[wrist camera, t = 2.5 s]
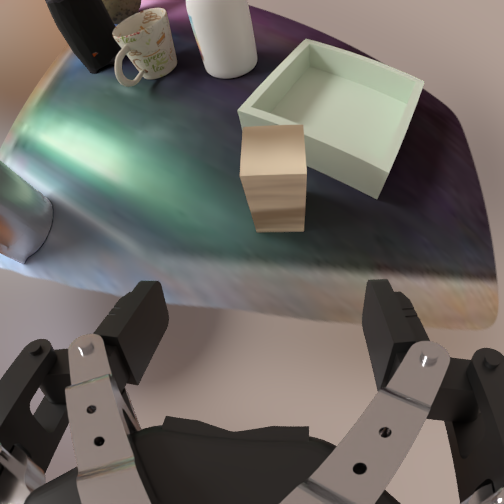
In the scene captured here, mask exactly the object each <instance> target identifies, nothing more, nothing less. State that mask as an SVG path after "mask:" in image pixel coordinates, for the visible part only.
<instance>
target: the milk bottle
mask: <svg viewBox="0 0 504 504" xmlns="http://www.w3.org/2000/svg"><path fill="white" fill-rule="evenodd" d="M186 7H187V12H188V16H189V19H190V23H191V26H192V29H193V32H194V35H195V38H196V42H197V45H198V48H199V51H200V54H201V57H202V60H203V63H204V66H205V69H206V71H207V72H208V73H209V74H210V75H211V76H213V77H216V78H222V79H229V78H235V77H239V76H242V75H244V74H246V73H248V72H250V71H251V70H252V69H253V68H254V67H255V65H256V63H257V51H256V45H255V39H254V33H253V28H252V22H251V17H250V11H249V6H248V2H247V0H186Z"/></svg>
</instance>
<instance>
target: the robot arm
mask: <svg viewBox="0 0 504 504" xmlns="http://www.w3.org/2000/svg"><path fill="white" fill-rule="evenodd" d="M52 219H53V208H52V204H51V202H50V201H49V199H48V198H46V197H45V196H44V195H43V194H42V193H40V192H39V191H38V190H36V189H35V188H33V187H32V186H31V185H30V184H28V183H27V182H26V181H25V180H23V179H22V178H21V177H20V176H18V175H17V174H16V173H15V172H13V171H12V170H11V169H10V168H9V167H7V166H6V165H5V164H4V163H2V162H1V161H0V253H1V254H3V255H5V256H7V257H9V258H11V259H14V260H16V261H18V262H20V263H22V264H24V263H25V261H26V259H27V258H28V257H29V256H31V255H32V254H34V253H35V252H36V251H37V250H38V249H39V248H40V247H41V245H42V244H43V242H44V241H45V239H46V237H47V235H48V233H49V230H50V227H51V224H52ZM168 321H169V315H168V310H167V306H166V302H165V298H164V294H163V290H162V286H161V284H160V282H159V281H140V282H139V283H138V284H137V286H136V287H135V288H134V290H133V291H132V292H129V293H128V294H126V295H125V296H123V297H122V298H121V299H119V301H118V302H117V303H116V305H115V306H114V308H113V309H112V310H111V311H110V312H109V315H107V316H106V317H105V319H104V320H103V321H102V323H101V324H100V326H99V327H98V328H97V329H96V331H95V332H94V333H93V334H86V335H83V336H81V337H78V338H77V339H75V340H74V341H73V342H72V343H71V345H70V346H69V349H59V350H54V349H53V347H52V345H51V343H50V342H49V341H48V340H46V339H38V340H35V341H33V342H31V343H29V344H28V345H27V346H26V347H25V348H24V349H23V350H22V352H21V353H20V354H19V356H18V357H17V358H16V359H15V361H14V362H13V363H12V365H11V366H10V367H9V369H8V370H7V371H6V373H5V374H4V375H3V377H2V378H1V380H0V504H400V503H399V502H398V501H397V500H396V499H395V498H394V497H393V496H391V495H390V494H389V493H388V492H387V491H386V490H385V488H386V486H387V485H388V484H389V482H390V480H391V479H392V478H393V476H394V475H395V473H396V471H397V470H398V468H399V467H400V465H401V463H402V462H403V460H404V458H405V457H406V455H407V453H408V451H409V449H410V448H411V446H412V444H413V443H414V441H415V439H416V437H417V435H418V433H419V431H420V429H421V427H422V426H423V424H424V422H425V420H426V419H433V420H442V421H444V422H445V426H446V430H447V434H448V439H449V443H450V448H451V453H452V458H453V463H454V468H455V473H456V479H457V485H458V492H459V498H460V504H504V356H503V355H502V354H501V353H500V352H498V351H496V350H494V349H490V348H482V349H479V350H477V351H476V352H475V353H474V355H473V357H472V359H471V360H466V359H457V358H451V357H450V356H449V353H448V352H447V350H446V349H445V348H444V347H443V346H441V345H439V344H438V343H435V342H431V341H430V340H429V338H428V336H427V334H426V332H425V330H424V327H423V325H422V323H421V321H420V319H419V317H417V313H416V311H415V310H414V307H413V305H412V303H411V301H410V299H408V298H407V297H406V296H405V295H404V294H402V293H401V292H394V291H393V289H392V287H391V285H390V283H389V281H388V280H387V279H380V280H368V282H367V286H366V293H365V300H364V307H363V314H362V326H363V332H364V336H365V339H366V343H367V347H368V351H369V355H370V360H371V363H372V368H373V372H374V377H375V381H376V385H377V390H378V393H377V395H376V396H375V397H374V399H373V400H372V401H371V403H370V404H369V406H368V407H367V408H366V410H365V411H364V412H363V414H362V415H361V417H360V418H359V419H358V421H357V422H356V423H355V424H354V426H353V427H352V428H351V430H350V431H349V432H348V434H347V435H346V436H345V437H344V438H343V440H342V441H341V442H340V443H339V445H338V446H335V445H333V444H331V443H329V442H326V441H324V440H321V439H318V438H315V437H309V427H308V426H307V427H306V426H305V427H286V426H285V427H284V426H283V427H282V426H281V427H280V426H270V427H265V428H259V429H252V430H246V431H238V432H232V431H228V430H225V429H222V428H218V427H215V426H212V425H209V424H207V423H204V422H201V421H197V420H189V419H183V418H176V417H169V416H166V418H165V420H164V423H163V425H160V426H153V427H149V428H145V429H141V427H140V424H139V422H138V420H137V417H136V414H135V411H134V408H133V406H132V403H131V400H130V397H129V394H128V392H127V390H126V388H125V385H126V383H128V384H133V385H139V383H140V381H141V378H142V376H143V374H144V372H145V370H146V368H147V366H148V364H149V362H150V360H151V358H152V356H153V354H154V352H155V350H156V348H157V347H158V345H159V342H160V341H161V339H162V337H163V335H164V333H165V331H166V329H167V326H168ZM38 388H40V389H41V391H42V392H43V393H44V395H45V396H44V398H43V400H42V401H41V403H40V405H39V407H38V408H37V410H36V412H35V413H34V415H32V413H31V411H30V401H31V399H32V398H33V396H34V394H35V393H36V391H37V389H38ZM68 424H69V425H70V431H71V437H72V442H73V448H74V453H75V457H76V462H77V467H75V468H74V469H72V470H70V471H68V472H66V473H65V474H63V475H61V476H59V477H57V478H56V479H53V480H52V481H50V482H48V483H46V484H45V473H46V470H47V468H48V466H49V464H50V461H51V459H52V457H53V455H54V452H55V450H56V448H57V446H58V444H59V442H60V440H61V438H62V436H63V434H64V432H65V430H66V428H67V426H68Z"/></svg>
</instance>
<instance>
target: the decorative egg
mask: <svg viewBox="0 0 504 504" xmlns="http://www.w3.org/2000/svg"><path fill="white" fill-rule="evenodd" d="M102 2H103V3H104V5H105V7H106V9H107V11H108V13H109V15H110V17H111V19H112V21H113V23H114V24H120V23H121V22H122V21H124V20H125V19H127V18H128V17H130V16H132V15H134V14H136V13H137V12H138V10H139V8H140V5H141V0H102Z"/></svg>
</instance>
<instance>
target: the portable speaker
mask: <svg viewBox="0 0 504 504" xmlns="http://www.w3.org/2000/svg"><path fill="white" fill-rule="evenodd" d="M45 1H46V3H47V5H48V8H49V10H50V12H51V14H52V17H53V19H54V21H55V23H56V25H57V27H58V29H59V30H60V32H61V33H62V35H63V36H64V38H65V40H66V41H67V43H68V44H69V46H70V48H71V49H72V51H73V52H74V54H75V55H76V56H77V57H78V58H79V59H80V61H81V62H82V63H83V64H84V65H85V66H86V67H87V69H88V70H89V71H90V73H97V72H98V69H100V68H102V67H104V66H106V65H108V64H112V65H114V64H115V59H116V56H117V54H118V53H119V51H120V50H121V49H122V48H121V47H120V46H119V44H118V43H117V42H116V40H115V39H114V37H113V35H112V33H113V30H114V29H115V28H116V27H115V25H114V23H113V21H112V19H111V17H110V15H109V13H108V11H107V9H106V7H105V5H104V3H103V2H102V0H45Z"/></svg>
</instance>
